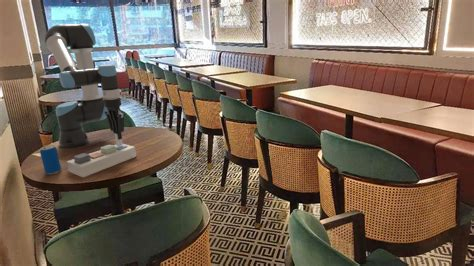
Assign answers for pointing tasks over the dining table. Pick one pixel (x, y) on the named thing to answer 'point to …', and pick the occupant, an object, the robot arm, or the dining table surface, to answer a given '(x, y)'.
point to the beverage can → (50, 159)
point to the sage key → (107, 149)
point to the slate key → (120, 147)
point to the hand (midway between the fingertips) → (119, 145)
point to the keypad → (101, 161)
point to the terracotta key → (96, 155)
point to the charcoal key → (82, 158)
